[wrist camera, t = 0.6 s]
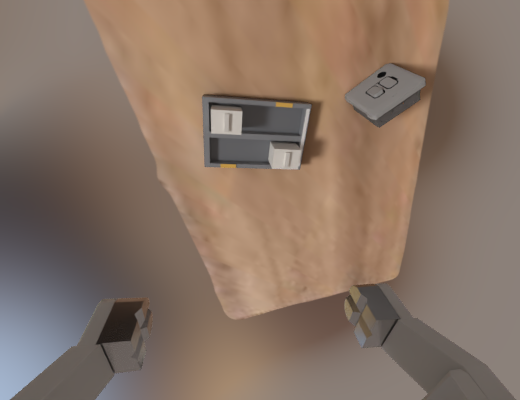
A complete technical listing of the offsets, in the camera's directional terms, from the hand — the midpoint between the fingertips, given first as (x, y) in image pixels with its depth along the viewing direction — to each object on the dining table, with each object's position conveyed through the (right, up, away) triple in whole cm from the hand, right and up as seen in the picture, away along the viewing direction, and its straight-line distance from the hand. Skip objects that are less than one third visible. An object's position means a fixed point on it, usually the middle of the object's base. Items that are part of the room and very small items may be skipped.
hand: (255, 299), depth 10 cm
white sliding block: (+4, +14, +38) cm, 41 cm away
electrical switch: (+21, +25, +36) cm, 48 cm away
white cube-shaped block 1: (-6, +19, +33) cm, 39 cm away
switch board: (-1, +17, +37) cm, 40 cm away
